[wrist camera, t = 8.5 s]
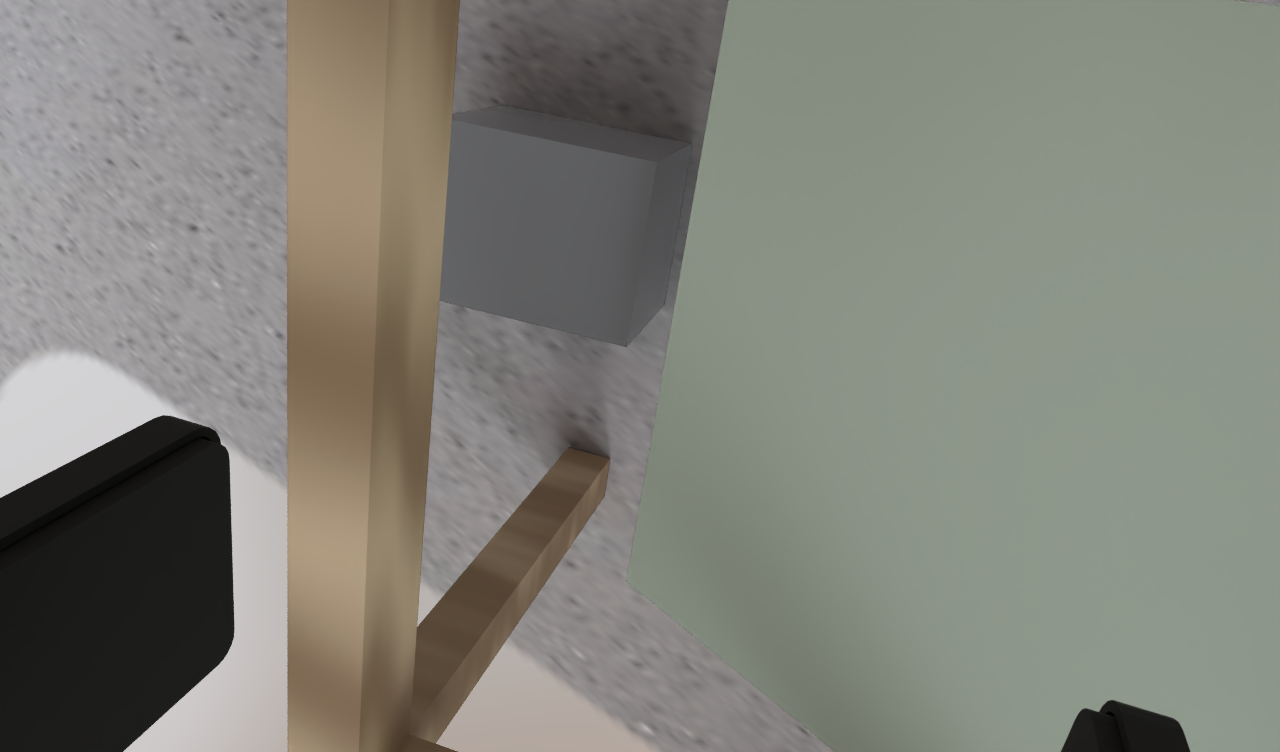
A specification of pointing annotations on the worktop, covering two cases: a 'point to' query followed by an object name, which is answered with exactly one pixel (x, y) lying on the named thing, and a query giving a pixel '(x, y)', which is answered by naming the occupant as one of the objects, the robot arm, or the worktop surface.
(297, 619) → the frame
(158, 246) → the worktop surface
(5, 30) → the worktop surface
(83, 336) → the worktop surface
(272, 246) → the worktop surface
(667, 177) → the stone
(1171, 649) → the trapdoor
